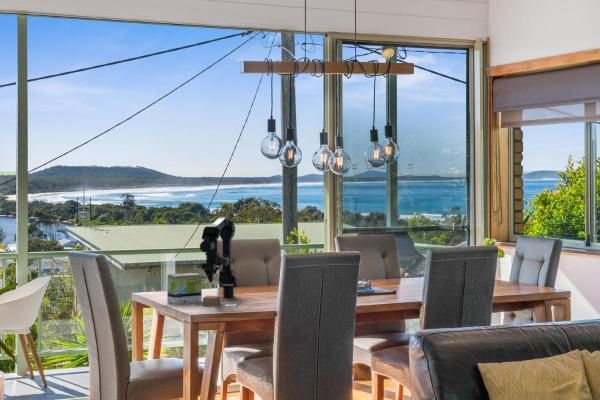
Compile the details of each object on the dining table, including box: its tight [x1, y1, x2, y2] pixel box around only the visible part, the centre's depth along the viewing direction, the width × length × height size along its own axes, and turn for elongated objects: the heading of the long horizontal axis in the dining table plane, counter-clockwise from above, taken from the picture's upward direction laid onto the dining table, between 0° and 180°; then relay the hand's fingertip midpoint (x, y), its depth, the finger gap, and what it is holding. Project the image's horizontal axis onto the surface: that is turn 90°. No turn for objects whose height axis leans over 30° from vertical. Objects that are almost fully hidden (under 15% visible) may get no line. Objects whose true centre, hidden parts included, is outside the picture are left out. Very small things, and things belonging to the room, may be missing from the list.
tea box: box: [166, 272, 203, 305], centre depth 436 cm, size 15×10×15 cm, turn 126°
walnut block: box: [202, 295, 221, 307], centre depth 424 cm, size 7×7×4 cm
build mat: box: [193, 300, 244, 308], centre depth 426 cm, size 16×22×1 cm
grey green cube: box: [205, 273, 219, 285], centre depth 423 cm, size 5×5×5 cm
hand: (212, 281), depth 423 cm, fingers closed on grey green cube, 5 cm apart
